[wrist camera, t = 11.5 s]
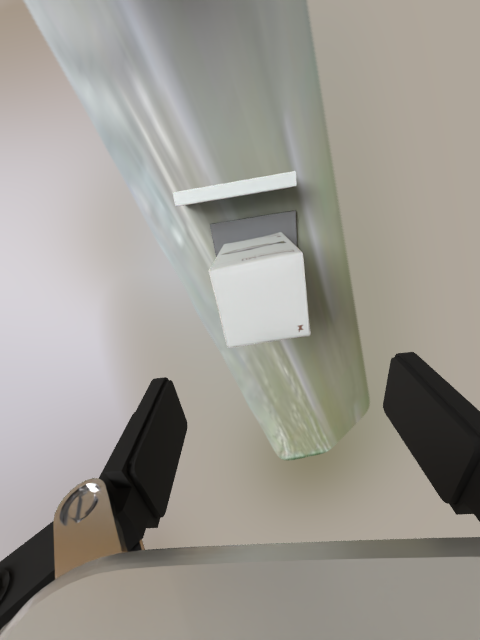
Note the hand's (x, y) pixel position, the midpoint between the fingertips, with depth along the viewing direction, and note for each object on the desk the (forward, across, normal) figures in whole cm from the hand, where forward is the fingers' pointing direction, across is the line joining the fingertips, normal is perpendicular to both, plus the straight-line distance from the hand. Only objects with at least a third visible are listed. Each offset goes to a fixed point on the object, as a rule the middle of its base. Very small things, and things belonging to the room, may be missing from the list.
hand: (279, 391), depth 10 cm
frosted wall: (+22, +2, -9) cm, 24 cm away
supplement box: (+22, 0, 0) cm, 22 cm away
